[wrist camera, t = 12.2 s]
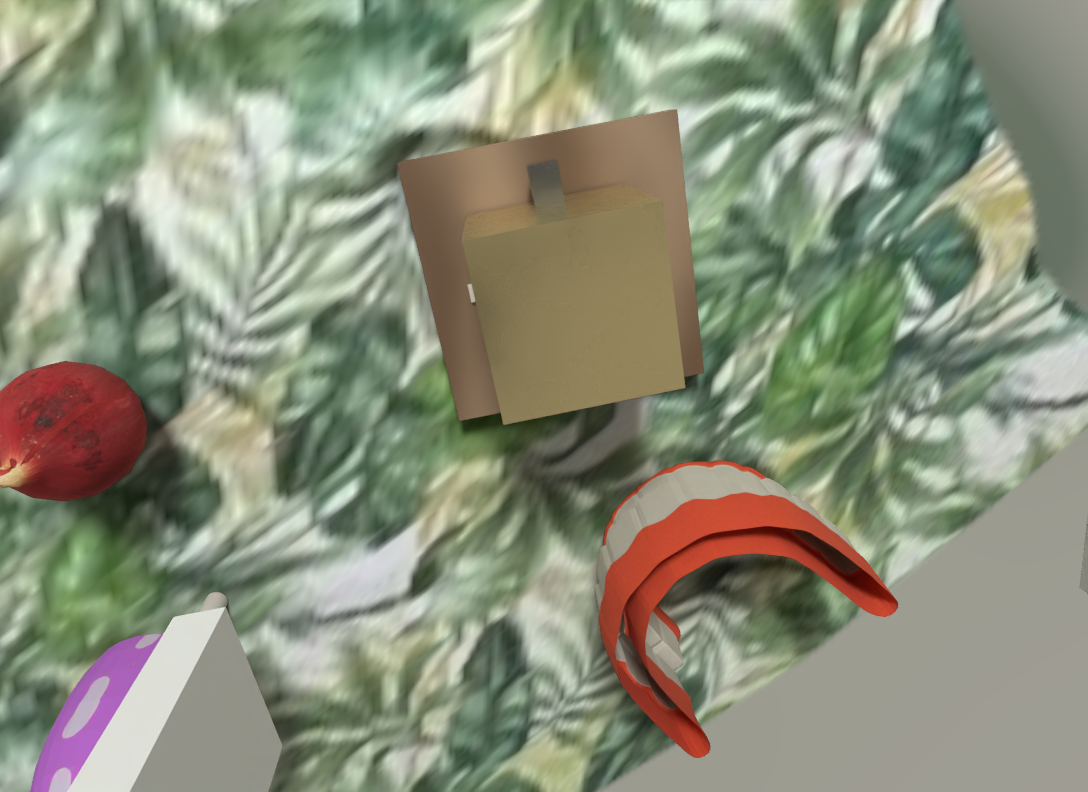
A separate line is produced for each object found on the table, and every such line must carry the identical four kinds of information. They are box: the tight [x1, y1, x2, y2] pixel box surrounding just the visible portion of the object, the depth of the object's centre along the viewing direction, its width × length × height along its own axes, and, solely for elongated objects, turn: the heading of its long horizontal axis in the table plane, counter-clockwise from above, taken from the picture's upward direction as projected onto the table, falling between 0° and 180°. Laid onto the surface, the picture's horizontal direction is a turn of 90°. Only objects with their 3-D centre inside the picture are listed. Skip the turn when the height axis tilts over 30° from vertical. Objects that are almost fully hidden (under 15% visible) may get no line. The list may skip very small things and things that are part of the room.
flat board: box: [397, 110, 704, 421], centre depth 31 cm, size 12×12×6 cm
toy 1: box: [30, 592, 228, 792], centre depth 32 cm, size 7×7×15 cm
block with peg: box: [462, 159, 685, 425], centre depth 29 cm, size 10×7×7 cm
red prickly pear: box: [0, 361, 147, 501], centre depth 31 cm, size 6×6×8 cm
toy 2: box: [595, 461, 898, 758], centre depth 36 cm, size 12×10×8 cm
